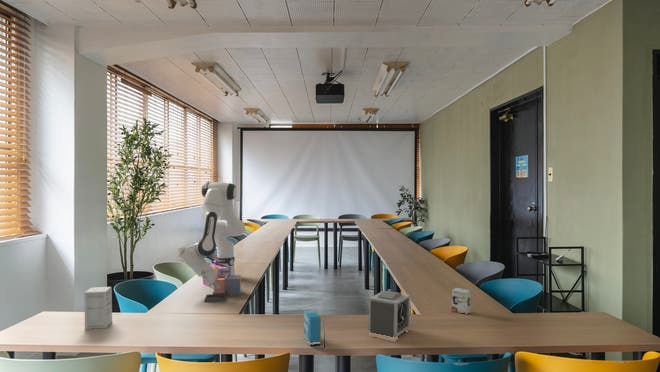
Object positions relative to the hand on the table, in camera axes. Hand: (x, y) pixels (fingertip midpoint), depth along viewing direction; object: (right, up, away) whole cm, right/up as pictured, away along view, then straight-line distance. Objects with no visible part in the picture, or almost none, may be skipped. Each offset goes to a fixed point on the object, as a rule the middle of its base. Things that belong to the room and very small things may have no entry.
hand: (220, 285), depth 268 cm
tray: (0, -5, -11) cm, 12 cm away
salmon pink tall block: (-1, -5, 0) cm, 5 cm away
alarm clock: (+91, -8, -62) cm, 110 cm away
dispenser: (+3, -5, +1) cm, 6 cm away
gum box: (-7, -5, +19) cm, 20 cm away
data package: (+56, -8, -73) cm, 93 cm away
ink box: (+132, -8, -30) cm, 135 cm away
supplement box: (-43, -6, -56) cm, 71 cm away
